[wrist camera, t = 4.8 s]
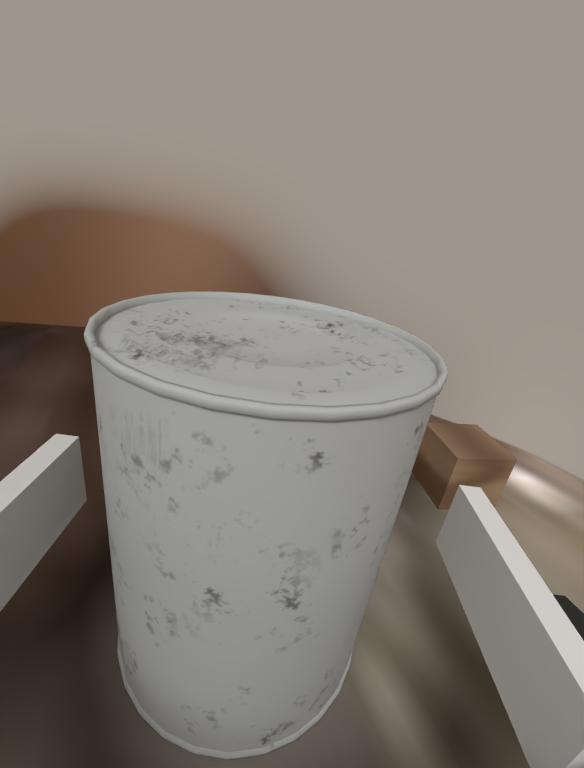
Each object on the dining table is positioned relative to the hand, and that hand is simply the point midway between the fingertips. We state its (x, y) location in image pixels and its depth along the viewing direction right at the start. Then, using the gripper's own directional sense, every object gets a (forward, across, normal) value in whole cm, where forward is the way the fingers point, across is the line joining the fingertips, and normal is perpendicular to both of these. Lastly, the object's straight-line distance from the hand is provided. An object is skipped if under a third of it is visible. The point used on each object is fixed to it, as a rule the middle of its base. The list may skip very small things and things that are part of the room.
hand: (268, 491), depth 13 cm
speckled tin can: (0, 0, -7) cm, 7 cm away
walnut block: (+10, +12, -6) cm, 17 cm away
